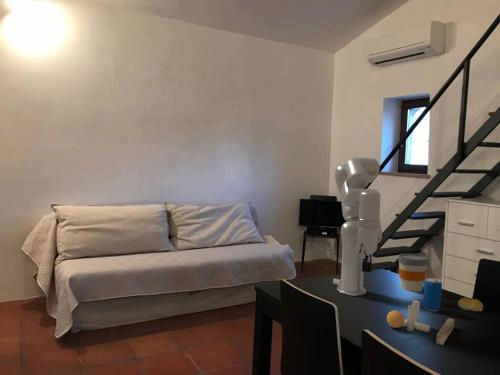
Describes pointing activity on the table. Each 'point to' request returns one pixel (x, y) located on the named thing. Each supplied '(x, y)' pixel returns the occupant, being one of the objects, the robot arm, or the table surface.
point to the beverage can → (432, 294)
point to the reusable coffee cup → (412, 271)
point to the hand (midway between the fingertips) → (366, 271)
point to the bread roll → (470, 304)
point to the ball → (395, 319)
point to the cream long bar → (445, 331)
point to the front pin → (419, 326)
